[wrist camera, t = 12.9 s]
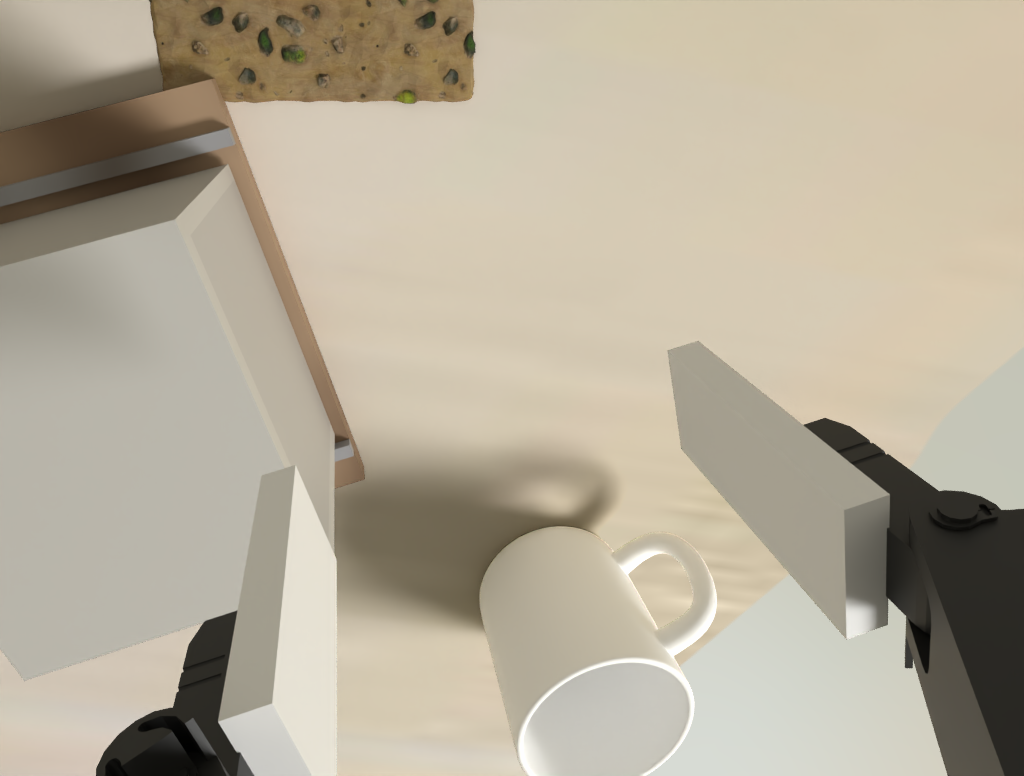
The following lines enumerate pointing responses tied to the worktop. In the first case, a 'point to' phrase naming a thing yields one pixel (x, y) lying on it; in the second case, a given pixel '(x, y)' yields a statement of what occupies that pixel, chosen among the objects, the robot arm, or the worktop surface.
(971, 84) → the worktop surface
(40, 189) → the board
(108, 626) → the housing
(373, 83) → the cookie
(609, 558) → the cup
